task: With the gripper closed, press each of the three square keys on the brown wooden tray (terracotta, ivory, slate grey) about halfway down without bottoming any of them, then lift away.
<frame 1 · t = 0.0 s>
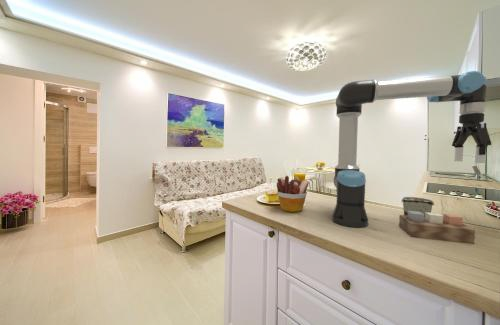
hand: (468, 162, 92), 28 cm above the worktop, tool pointing down, fingers open, 13 cm apart
terracotta key: (452, 221, 80), point 6 cm above the worktop, slide at 0.0 cm
brown wooden tray: (432, 233, 82), on the worktop
ivory key: (433, 219, 82), point 6 cm above the worktop, slide at 0.0 cm
bucket of meat: (291, 210, 115), on the worktop
food container: (414, 218, 101), on the worktop
slate key: (415, 218, 84), point 6 cm above the worktop, slide at 0.0 cm
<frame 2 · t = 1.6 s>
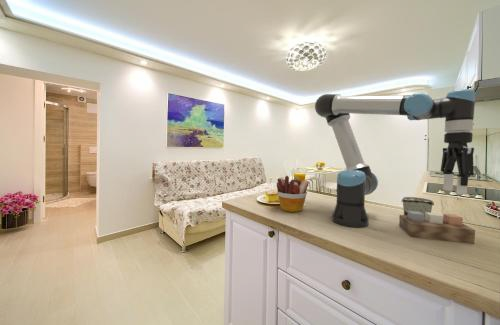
hand: (454, 192, 80), 17 cm above the worktop, tool pointing down, fingers open, 8 cm apart
nothing on the worktop moved.
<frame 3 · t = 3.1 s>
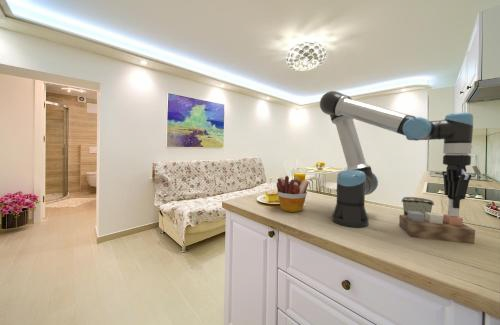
hand: (453, 215, 80), 8 cm above the worktop, tool pointing down, fingers closed
terracotta key: (452, 222, 80), point 5 cm above the worktop, slide at 0.3 cm, touching gripper
everything else where it was.
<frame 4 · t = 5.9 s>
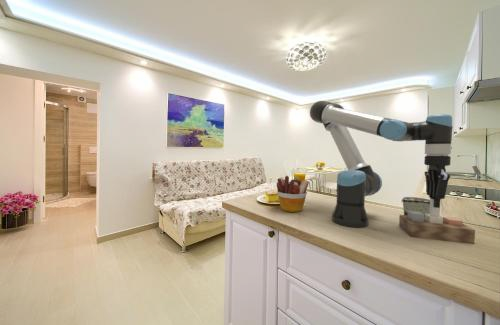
hand: (434, 214, 82), 8 cm above the worktop, tool pointing down, fingers closed
terracotta key: (452, 224, 80), point 4 cm above the worktop, slide at 1.3 cm
ivory key: (433, 221, 82), point 5 cm above the worktop, slide at 0.6 cm, touching gripper
everything else where it was.
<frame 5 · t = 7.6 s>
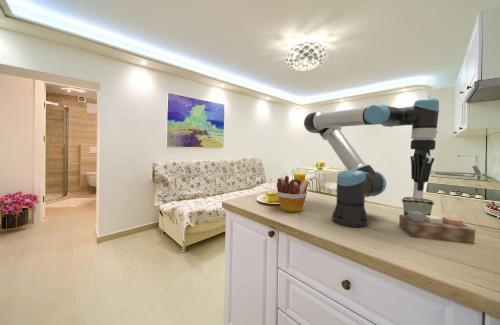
hand: (417, 198, 84), 14 cm above the worktop, tool pointing down, fingers closed
ivory key: (433, 222, 82), point 4 cm above the worktop, slide at 1.3 cm
everything else where it was.
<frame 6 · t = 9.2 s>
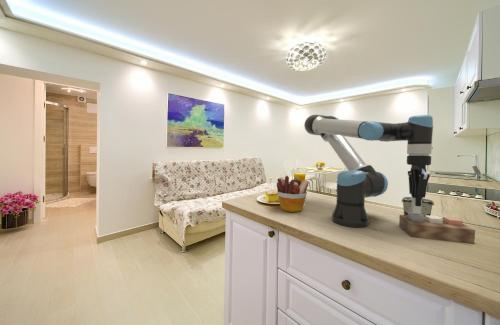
hand: (416, 213, 84), 8 cm above the worktop, tool pointing down, fingers closed
slate key: (415, 219, 84), point 5 cm above the worktop, slide at 0.6 cm, touching gripper
everything else where it was.
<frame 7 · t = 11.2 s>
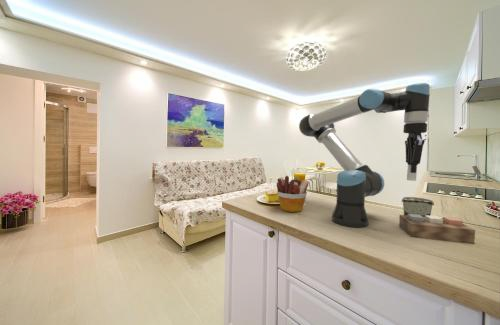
hand: (411, 180, 86), 21 cm above the worktop, tool pointing down, fingers closed
slate key: (415, 221, 84), point 4 cm above the worktop, slide at 1.3 cm
everything else where it was.
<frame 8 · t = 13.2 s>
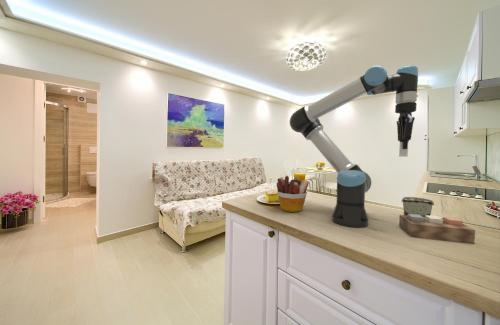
hand: (403, 156, 93), 30 cm above the worktop, tool pointing down, fingers closed
nothing on the worktop moved.
at the end: terracotta key slide at 1.3 cm; ivory key slide at 1.3 cm; slate key slide at 1.3 cm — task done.
